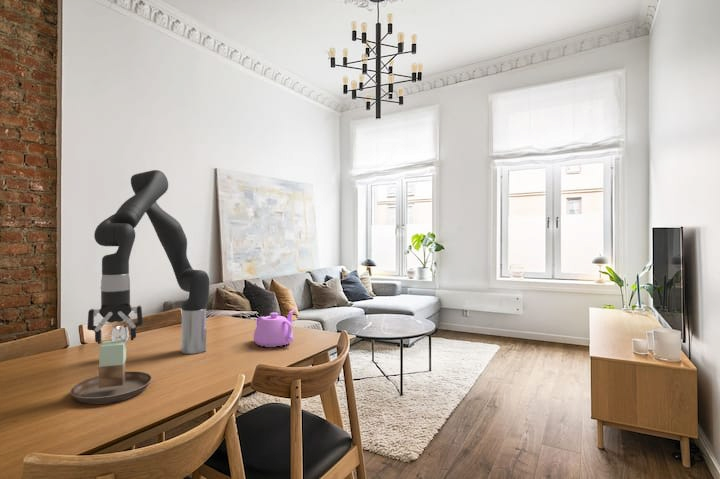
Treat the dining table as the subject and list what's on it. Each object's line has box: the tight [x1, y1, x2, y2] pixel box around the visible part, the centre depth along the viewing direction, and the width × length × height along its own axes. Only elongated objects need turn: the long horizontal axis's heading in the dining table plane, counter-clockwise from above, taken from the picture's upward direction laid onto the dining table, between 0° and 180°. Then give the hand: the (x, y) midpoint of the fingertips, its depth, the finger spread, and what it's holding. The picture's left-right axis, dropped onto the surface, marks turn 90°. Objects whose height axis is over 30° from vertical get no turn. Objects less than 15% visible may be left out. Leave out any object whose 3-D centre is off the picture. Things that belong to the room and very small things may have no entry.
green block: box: [98, 340, 127, 368], centre depth 120 cm, size 6×6×6 cm
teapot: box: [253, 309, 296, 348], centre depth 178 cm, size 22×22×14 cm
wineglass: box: [110, 325, 130, 359], centre depth 152 cm, size 6×6×12 cm
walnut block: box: [98, 361, 126, 388], centre depth 119 cm, size 6×6×6 cm
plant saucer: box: [69, 370, 152, 405], centre depth 120 cm, size 21×21×3 cm
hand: (116, 341), depth 122 cm, fingers open, 8 cm apart
